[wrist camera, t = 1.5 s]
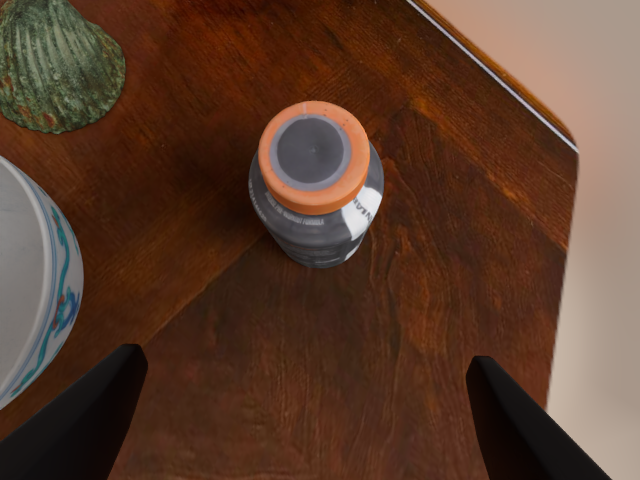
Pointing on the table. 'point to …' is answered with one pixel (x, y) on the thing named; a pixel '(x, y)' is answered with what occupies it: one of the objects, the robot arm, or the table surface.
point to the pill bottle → (316, 183)
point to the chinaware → (33, 280)
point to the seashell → (56, 66)
